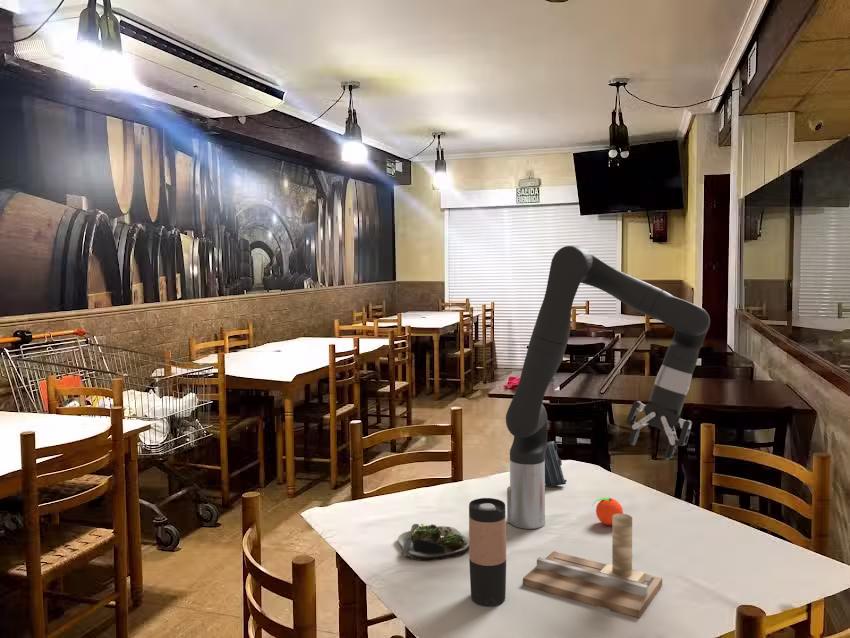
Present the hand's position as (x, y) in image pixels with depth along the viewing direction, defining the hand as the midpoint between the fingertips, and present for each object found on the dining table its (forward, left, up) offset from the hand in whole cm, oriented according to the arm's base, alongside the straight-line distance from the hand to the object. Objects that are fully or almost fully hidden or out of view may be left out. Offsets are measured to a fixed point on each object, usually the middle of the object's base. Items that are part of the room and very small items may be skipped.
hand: (649, 451), depth 157 cm
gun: (-42, +30, -24) cm, 57 cm away
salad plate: (-45, -26, -25) cm, 58 cm away
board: (-5, -24, -24) cm, 34 cm away
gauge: (+1, -22, -22) cm, 31 cm away
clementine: (-14, +10, -24) cm, 30 cm away
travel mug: (-21, -41, -24) cm, 52 cm away
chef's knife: (-2, -28, -25) cm, 37 cm away
